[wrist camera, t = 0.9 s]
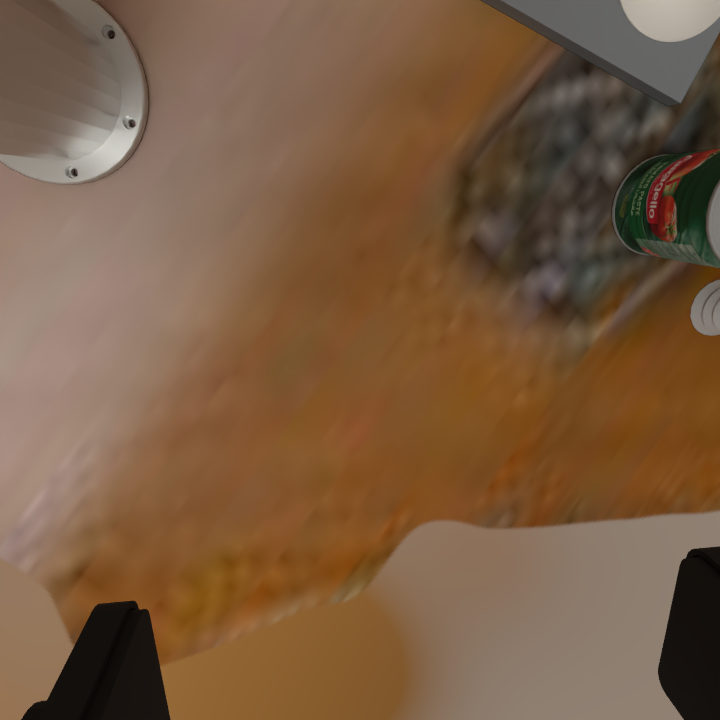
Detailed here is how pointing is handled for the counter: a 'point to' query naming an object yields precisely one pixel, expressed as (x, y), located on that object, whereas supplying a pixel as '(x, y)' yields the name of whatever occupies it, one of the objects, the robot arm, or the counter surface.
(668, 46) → the plate
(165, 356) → the counter surface
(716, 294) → the chalice
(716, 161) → the canned tomato
